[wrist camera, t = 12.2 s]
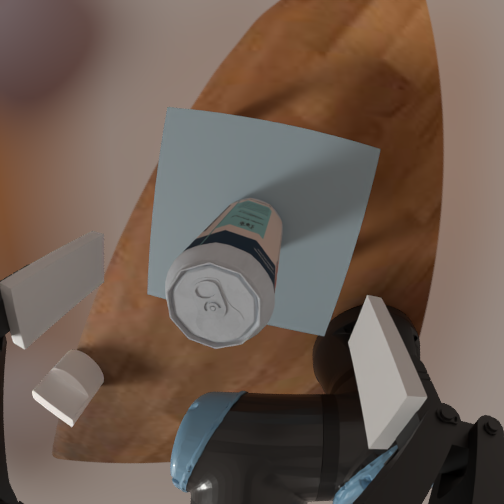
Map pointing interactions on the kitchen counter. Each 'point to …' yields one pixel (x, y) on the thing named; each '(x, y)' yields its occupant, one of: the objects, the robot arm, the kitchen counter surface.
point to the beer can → (227, 276)
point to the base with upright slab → (69, 386)
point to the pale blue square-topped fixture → (271, 191)
